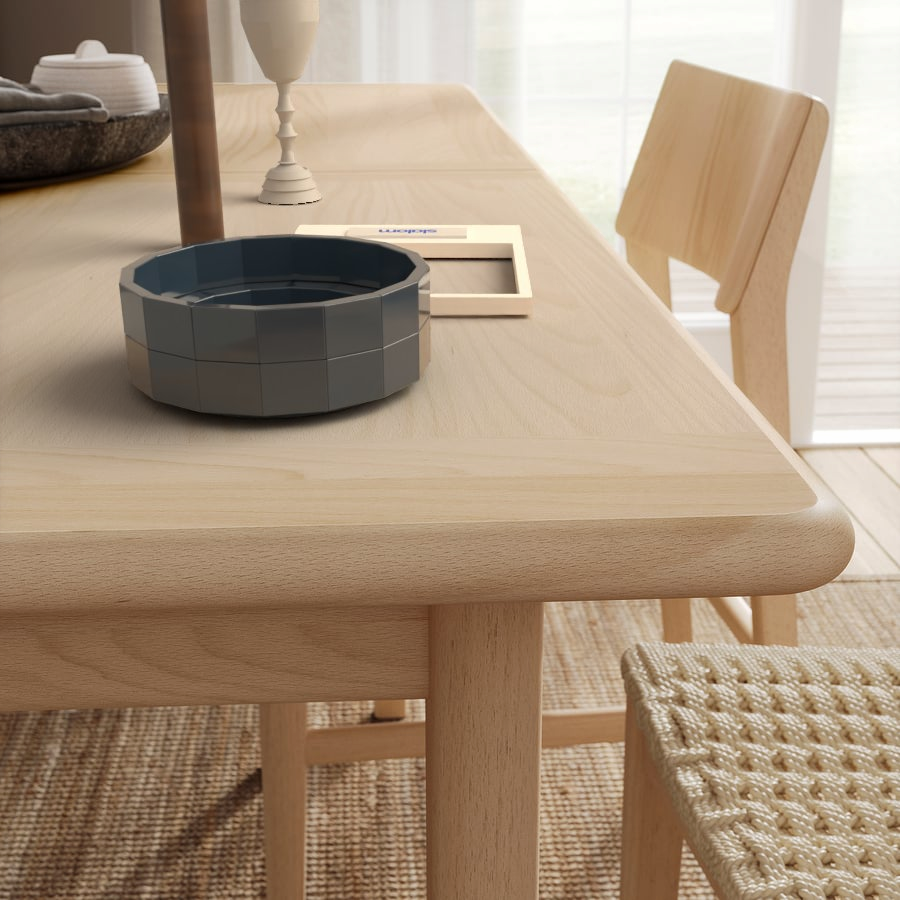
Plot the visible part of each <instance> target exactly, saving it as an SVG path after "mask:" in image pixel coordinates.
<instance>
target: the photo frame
mask: <svg viewBox="0 0 900 900" xmlns="http://www.w3.org/2000/svg"><path fill="white" fill-rule="evenodd" d="M293 234H305V235H332V236H347V237H354V238H361V239H368V240H375V241H381V242H387V243H390V244H393V245H396V246H399V247H402V248H405V249H408V250H411V251H414V252H417V253H419V255H420V256H421V257H422V258H423V259H425V258H432V259H433V258H434V259H436V258H438V259H439V258H442V259H443V258H444V259H445V258H446V259H447V258H450V259H451V258H452V259H453V258H455V259H458V258H459V259H462V258H464V259H465V258H467V259H471V258H473V259H474V258H475V259H477V258H478V259H490V258H491V259H496V258H497V259H511V260H512V266H513V274H514V281H515V287H516V288H515V289H516V293H430V315H510V316H511V315H514V316H515V315H520V316H521V315H522V316H523V315H524V316H525V315H533V301H534V300H533V299H534V297H533V291H532V286H531V282H530V275H529V269H528V264H527V258H526V252H525V248H524V240H523V236H522V231H521V225H520V224H299V226H298V227H297V228H296V230H295V232H294V233H293Z"/></svg>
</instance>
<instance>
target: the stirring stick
mask: <svg viewBox="0 0 900 900" xmlns="http://www.w3.org/2000/svg"><path fill="white" fill-rule="evenodd" d="M158 3H159V15H160V26H161V37H162V48H163V58H164V69H165V79H166V91H167V101H168V102H167V103H168V111H169V123H170V134H171V146H172V156H173V168H174V179H175V189H176V199H177V212H178V222H179V232H180V242H181V244H180V246H181V245H184V244H188V243H195V242H202V241H209V240H216V239H223V238H226V237H225V236H226V235H225V225H224V223H225V222H224V211H223V210H224V209H223V197H222V186H221V173H220V172H221V170H220V160H219V159H220V158H219V146H218V133H217V132H218V131H217V119H216V107H215V93H214V79H213V67H212V55H211V54H212V53H211V42H210V41H211V40H210V30H209V29H210V27H209V17H208V3H207V0H158Z"/></svg>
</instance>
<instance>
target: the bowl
mask: <svg viewBox="0 0 900 900" xmlns="http://www.w3.org/2000/svg"><path fill="white" fill-rule="evenodd" d="M118 290H119V297H120V306H121V307H120V308H121V314H122V324H123V332H124V340H125V341H124V343H125V350H126V357H127V359H126V360H127V367H128V377H129V381H130V383H131V385H133V386H134V387H135V388H137V389H138V390H139V391H141V392H142V393H144V394H145V395H146V396H147V397H149V398H150V399H151V400H153V401H155V402H159V403H163V404H167V405H171V406H175V407H179V408H182V409H186V410H190V411H194V412H198V413H204V414H205V413H206V414H210V415H216V416H223V417H231V418H242V419H245V418H246V419H285V418H287V419H288V418H300V417H308V416H309V417H310V416H317V415H323V414H328V413H334V412H338V411H343V410H347V409H350V408H354V407H358V406H360V405H364V404H366V403H369V402H373V401H377V400H382V399H384V398H386V397H388V396H391V395H392V394H395V393H397V392H399V391H400V390H403V389H405V388H407V387H408V386H410V385H413V384H414V383H416V382H419V381H420V380H421V378H422V376H423V374H424V373H425V371H426V370H427V368H428V367H429V365H430V364H431V360H432V354H431V353H432V352H431V351H432V349H431V342H432V341H431V314H430V294H431V268H430V265H429V263H428V262H427V261H426V260H425V258H422V257H421V256H420V255H419V253H417V252H414V251H411V250H408V249H405V248H402V247H399V246H396V245H393V244H390V243H387V242H381V241H375V240H368V239H361V238H354V237H347V236H332V235H305V234H294V233H284V234H282V233H280V234H264V235H263V234H261V235H260V234H259V235H242V236H240V235H239V236H232V237H231V236H230V237H225V238H223V239H216V240H209V241H202V242H195V243H188V244H184V245H181V244H180V245H176V246H173V247H170V248H166V249H163V250H158V251H155V252H151V253H147V254H145V255H143V256H141V257H139V258H138V259H135V260H134V261H133V262H130V263H129V264H127V265H125V266H123V267H122V268H121V269H120V274H119V281H118Z"/></svg>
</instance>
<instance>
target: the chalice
mask: <svg viewBox="0 0 900 900" xmlns="http://www.w3.org/2000/svg"><path fill="white" fill-rule="evenodd" d="M238 1H239V2H238V3H239V17H240V24H241V26H242V29H243V31H244V34H245V37H246V40H247V42H248V45H249V48H250V49H251V52H252V55H254V57H255V60H256V62H257V64H258V66H259V68H260V70H261V72H262V74H263V76H264V78H265V79H267V80H268V81H271V82H274V83H275V85H276V88H277V92H278V96H277V97H278V98H277V105H276V108H275V109H274V111H275V113H276V114H277V116H278V119H279V122H280V123H279V129H278V131H277V132H276V134H275V135H274V136H275V137H276V138H277V139H278V140H279V144H280V148H281V155H280V160H279V161H278V162H277V163H278V165H276V166H275V167H271V168H269V169H268V171H267V173H266V174H265V176H264V178H265V180H264V181H263V183H262V186H261V188H262V190H261V191H260V194H259V196H258V198H257V201H258V202H260V203H263V204H268V203H271V204H270V205H279V204H293V205H299V204H298V203H305V204H307V203H306V202H312V203H314V202H313V201H316V200H319V199H321V197H322V198H323V196H322V194H321V193H320V192H319V190H318V188H317V186H318V185H317V183H316V182H315V180H314V178H313V174H312V172H311V171H310V170H309V168H307V167H305V166H301V165H299V164H298V163H299V161H298V160H296V157H295V154H294V144H295V139H296V138H297V137H298V133H297V132H296V131H295V130H294V127H293V124H292V120H293V115H294V113H295V112H296V108H295V107H294V106H293V103H292V97H291V87H292V83H293V82H295V81H298V80H299V79H301V78H302V76H303V74H304V71H305V68H306V65H307V63H308V60H309V57H310V55H311V53H312V49H313V48H314V43H315V40H316V37H317V36H316V35H317V31H318V27H319V24H320V3H319V2H320V1H319V0H238ZM321 200H322V199H321ZM319 201H320V200H319ZM316 202H317V201H316Z"/></svg>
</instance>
